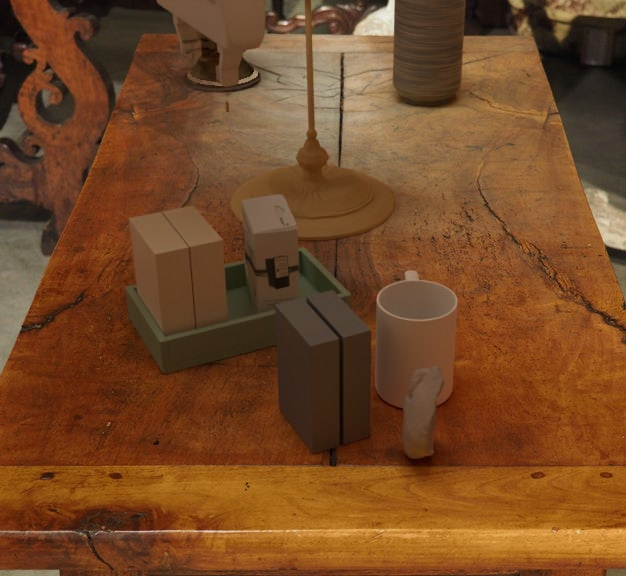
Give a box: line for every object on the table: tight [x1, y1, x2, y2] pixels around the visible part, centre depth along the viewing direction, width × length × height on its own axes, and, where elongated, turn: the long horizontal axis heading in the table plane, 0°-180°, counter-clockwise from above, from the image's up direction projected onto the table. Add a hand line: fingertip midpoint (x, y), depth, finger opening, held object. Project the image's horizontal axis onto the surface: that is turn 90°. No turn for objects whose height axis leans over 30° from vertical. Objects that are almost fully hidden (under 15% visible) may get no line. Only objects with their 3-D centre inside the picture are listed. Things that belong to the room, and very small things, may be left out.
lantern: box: [183, 31, 262, 93], centre depth 184 cm, size 14×14×25 cm
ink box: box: [241, 194, 300, 314], centre depth 118 cm, size 9×5×12 cm, turn 16°
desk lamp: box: [224, 0, 396, 242], centre depth 136 cm, size 31×23×40 cm
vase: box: [392, 0, 467, 107], centre depth 178 cm, size 12×12×23 cm
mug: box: [374, 270, 459, 409], centre depth 108 cm, size 12×8×10 cm, turn 3°
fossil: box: [401, 366, 444, 460], centre depth 97 cm, size 6×4×10 cm, turn 167°
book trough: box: [124, 246, 352, 375], centre depth 118 cm, size 22×13×4 cm, turn 118°
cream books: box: [128, 205, 228, 337], centre depth 113 cm, size 7×9×12 cm
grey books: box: [275, 290, 372, 455], centre depth 101 cm, size 6×8×12 cm
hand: (209, 70), depth 109 cm, fingers open, 8 cm apart
